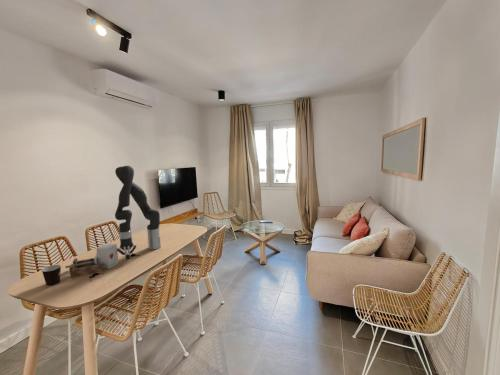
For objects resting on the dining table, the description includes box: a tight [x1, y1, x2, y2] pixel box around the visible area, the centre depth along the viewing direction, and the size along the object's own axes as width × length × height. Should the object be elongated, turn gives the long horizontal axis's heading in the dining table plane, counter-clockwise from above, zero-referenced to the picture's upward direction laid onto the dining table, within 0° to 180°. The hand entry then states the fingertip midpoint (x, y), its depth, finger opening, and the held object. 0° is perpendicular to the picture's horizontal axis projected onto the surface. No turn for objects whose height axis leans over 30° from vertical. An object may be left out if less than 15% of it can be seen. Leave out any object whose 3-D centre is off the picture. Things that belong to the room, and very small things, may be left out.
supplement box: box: [96, 242, 119, 270], centre depth 155 cm, size 9×9×15 cm
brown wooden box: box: [68, 257, 106, 279], centre depth 151 cm, size 18×15×7 cm
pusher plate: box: [65, 253, 98, 269], centre depth 149 cm, size 18×11×8 cm, turn 118°
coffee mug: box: [41, 264, 62, 287], centre depth 133 cm, size 12×9×10 cm
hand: (127, 259), depth 162 cm, fingers closed
